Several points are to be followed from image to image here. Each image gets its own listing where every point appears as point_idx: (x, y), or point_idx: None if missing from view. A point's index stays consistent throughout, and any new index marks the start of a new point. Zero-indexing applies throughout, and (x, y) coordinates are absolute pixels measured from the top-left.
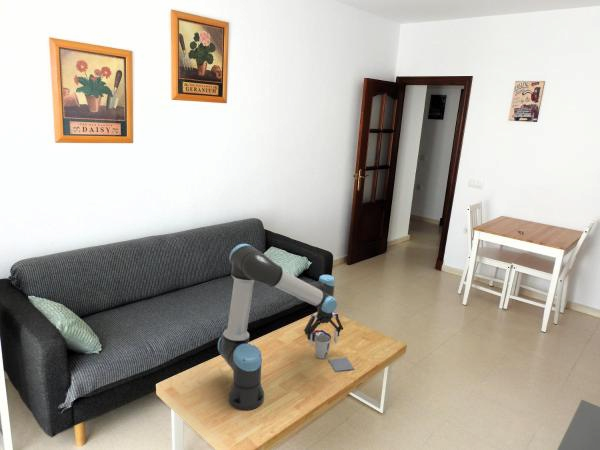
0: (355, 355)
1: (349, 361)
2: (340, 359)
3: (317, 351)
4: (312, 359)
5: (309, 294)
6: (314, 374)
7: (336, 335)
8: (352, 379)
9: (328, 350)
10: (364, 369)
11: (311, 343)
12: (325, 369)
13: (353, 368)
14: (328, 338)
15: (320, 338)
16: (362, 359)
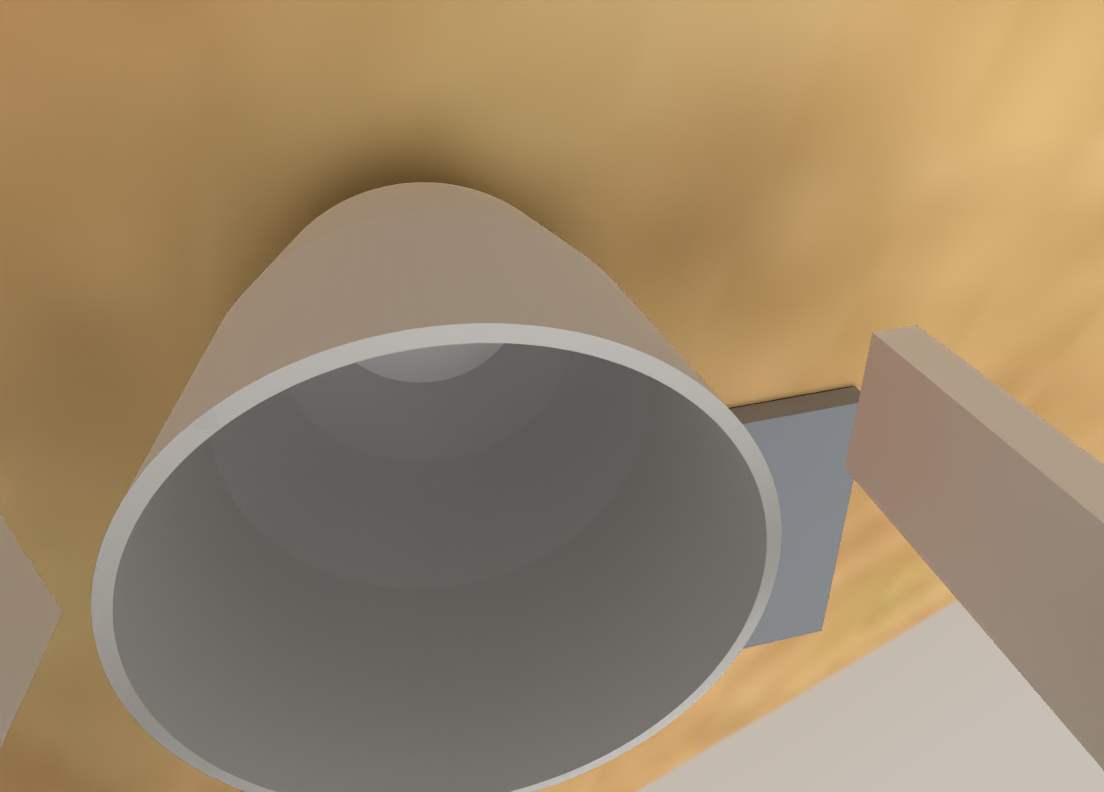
0: (1049, 290)
1: (848, 499)
2: None
3: (296, 483)
4: None
5: None
6: None
7: (1046, 689)
8: (702, 745)
9: (583, 448)
10: (934, 592)
11: (7, 701)
12: None
13: (811, 628)
14: (725, 447)
15: (429, 270)
16: (1066, 397)
